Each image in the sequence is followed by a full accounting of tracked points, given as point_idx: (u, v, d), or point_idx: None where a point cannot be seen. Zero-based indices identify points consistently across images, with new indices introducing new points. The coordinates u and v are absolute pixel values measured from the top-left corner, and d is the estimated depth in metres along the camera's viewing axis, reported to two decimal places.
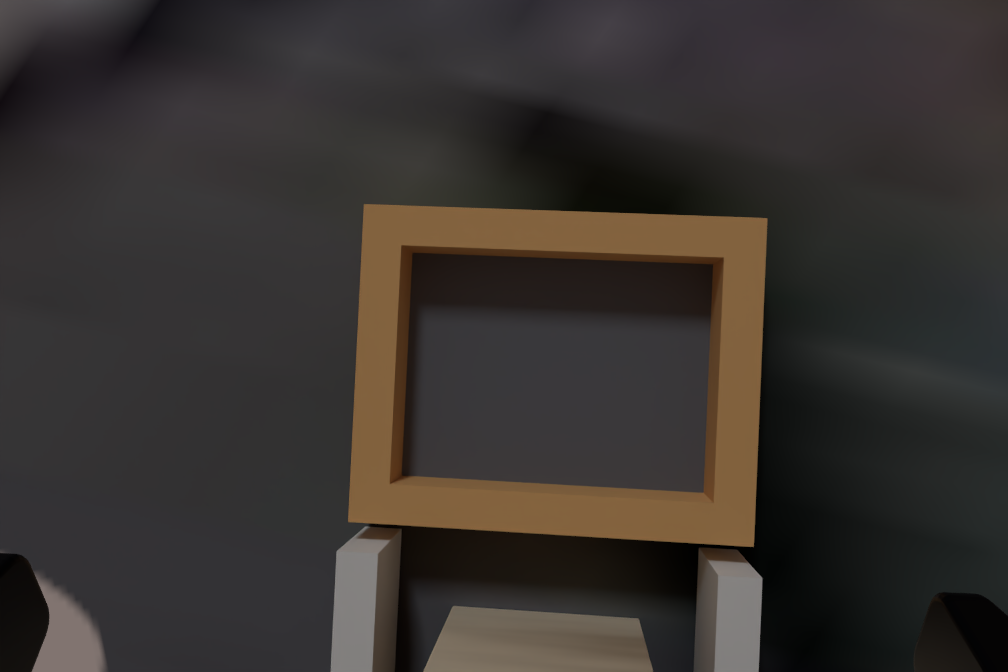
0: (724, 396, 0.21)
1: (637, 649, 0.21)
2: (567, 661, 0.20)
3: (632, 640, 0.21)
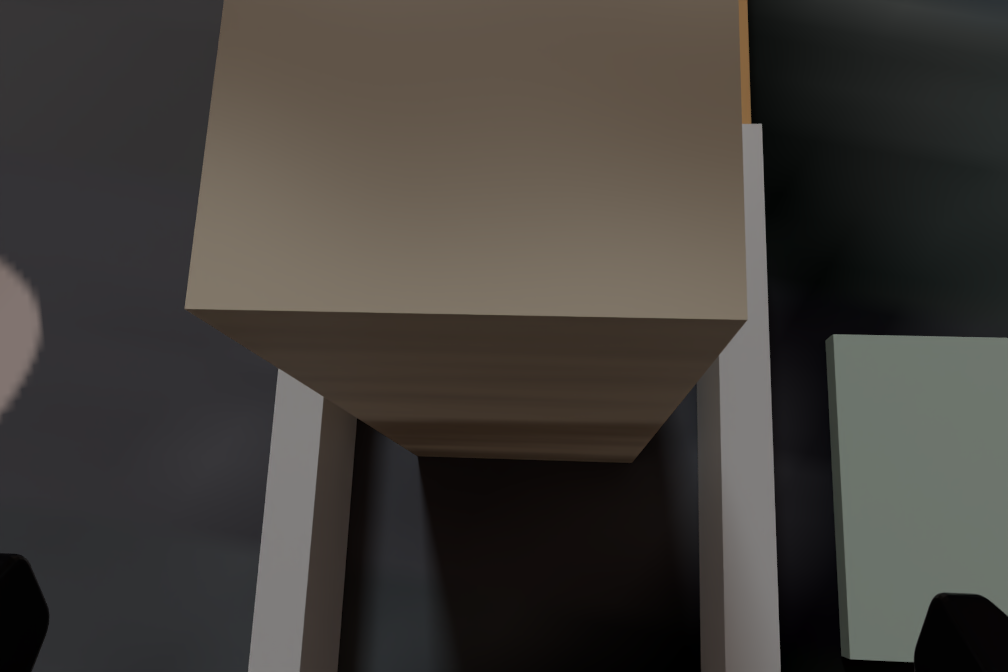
0: None
1: None
2: None
3: None
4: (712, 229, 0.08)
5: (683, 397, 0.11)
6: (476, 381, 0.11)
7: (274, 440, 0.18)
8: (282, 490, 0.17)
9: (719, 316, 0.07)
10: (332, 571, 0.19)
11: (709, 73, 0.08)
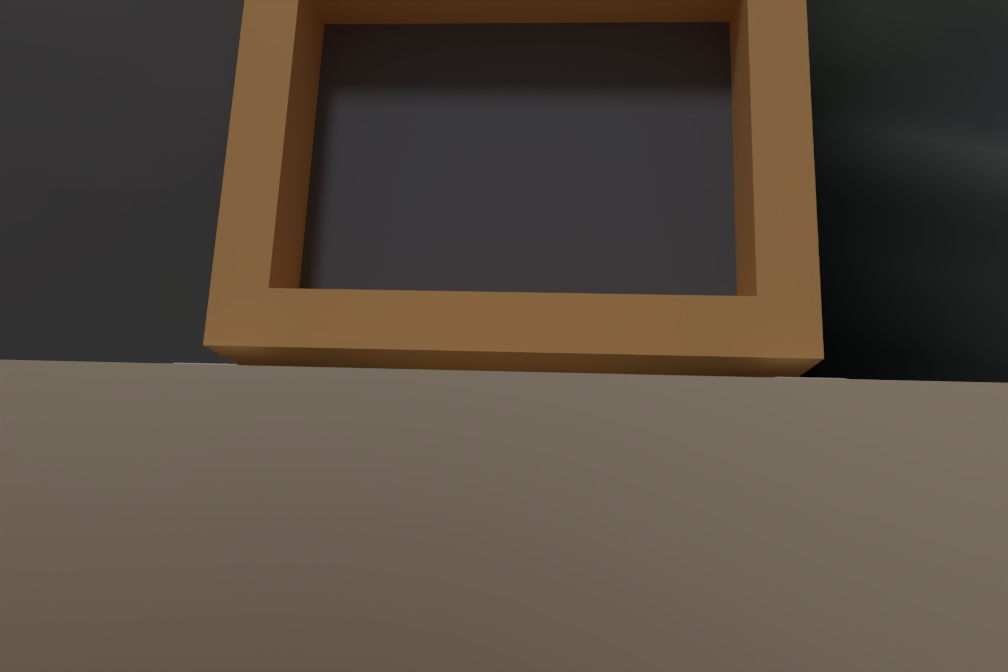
0: (761, 146, 0.15)
1: None
2: None
3: None
4: None
5: None
6: None
7: None
8: None
9: None
10: None
11: None
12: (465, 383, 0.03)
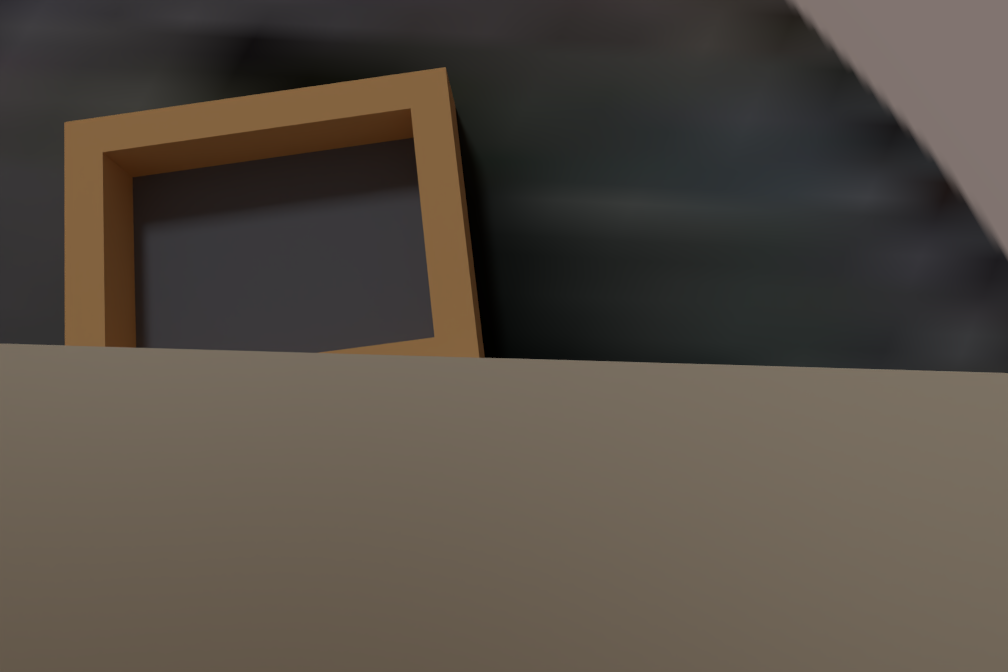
0: (430, 233, 0.21)
1: None
2: None
3: None
4: None
5: None
6: None
7: None
8: None
9: None
10: None
11: None
12: (461, 369, 0.03)
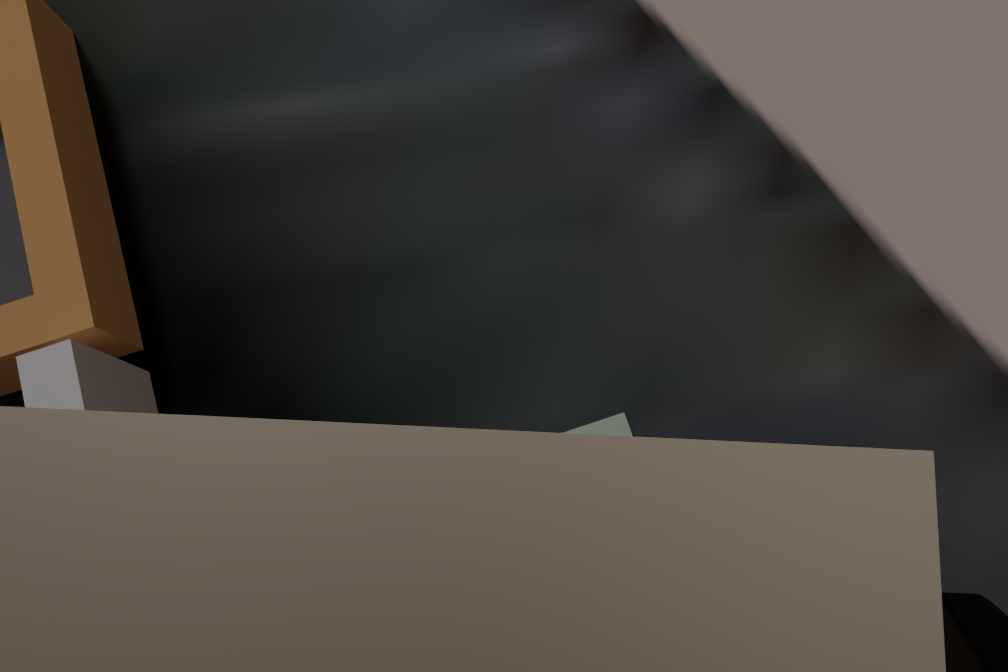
0: (18, 172, 0.17)
1: None
2: None
3: None
4: None
5: None
6: None
7: None
8: None
9: None
10: None
11: None
12: (517, 439, 0.04)
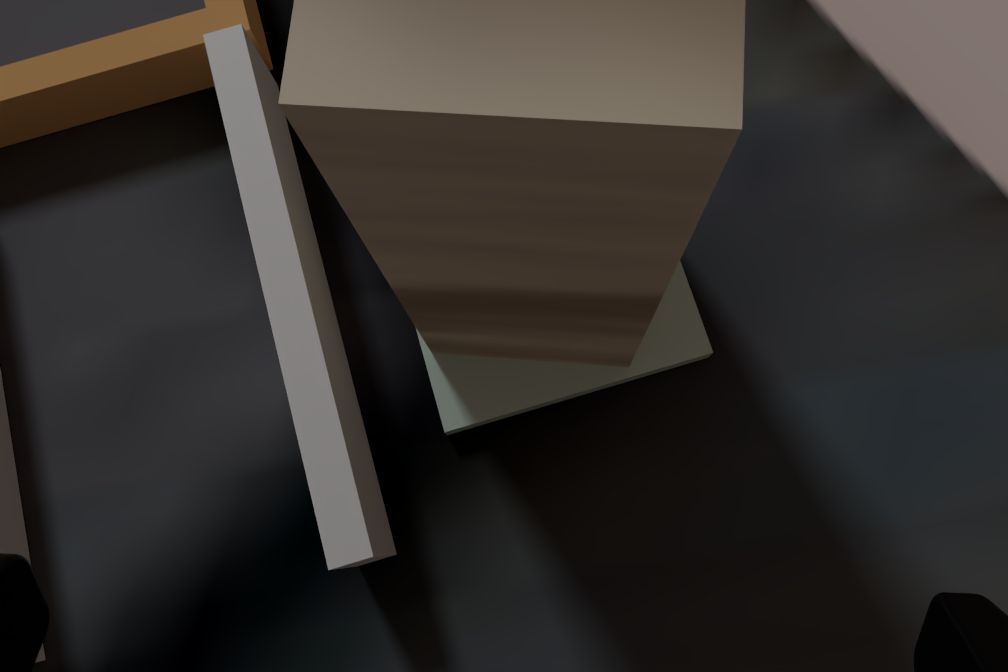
0: None
1: None
2: None
3: None
4: (717, 57, 0.09)
5: (682, 251, 0.13)
6: (505, 221, 0.12)
7: None
8: None
9: (719, 124, 0.09)
10: None
11: None
12: None
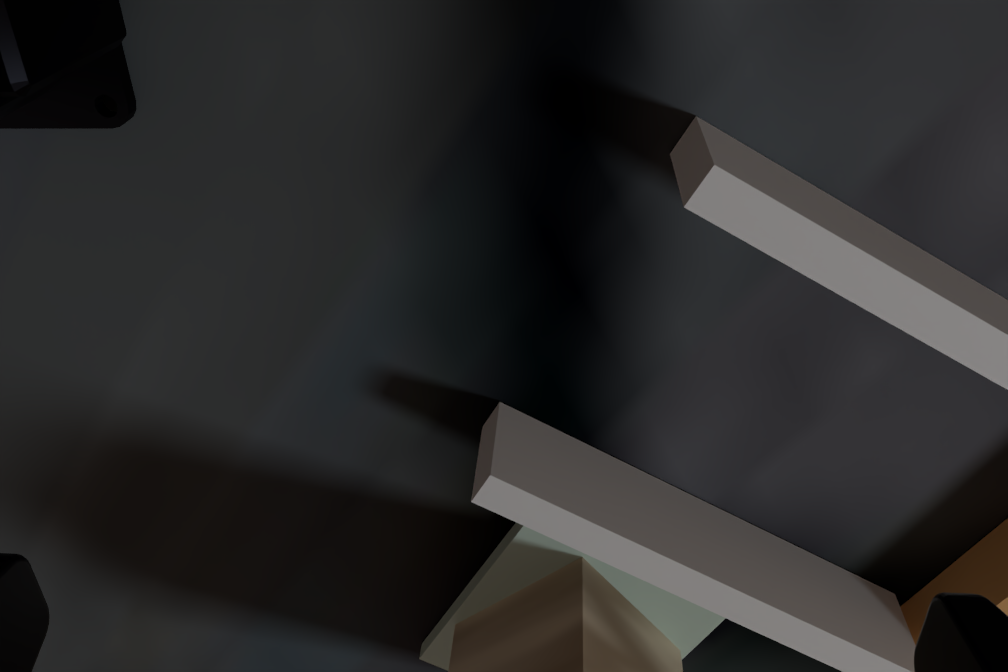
0: None
1: None
2: None
3: None
4: None
5: None
6: None
7: (973, 318, 0.18)
8: (926, 306, 0.18)
9: None
10: None
11: None
12: None
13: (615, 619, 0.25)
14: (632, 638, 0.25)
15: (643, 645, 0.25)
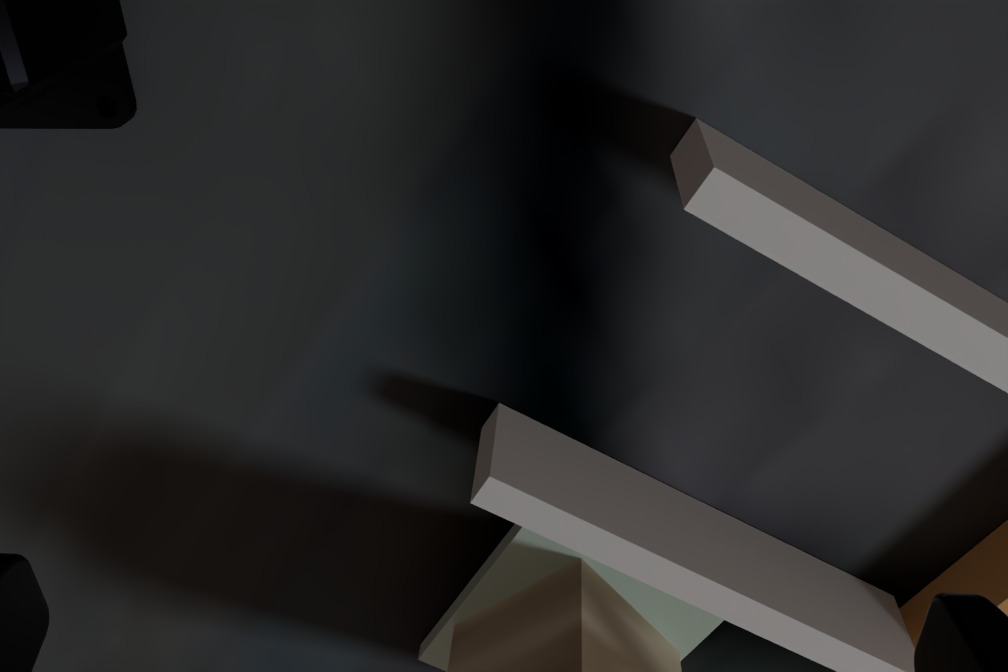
0: None
1: None
2: None
3: None
4: None
5: None
6: None
7: (972, 321, 0.18)
8: (925, 309, 0.18)
9: None
10: None
11: None
12: None
13: (614, 620, 0.25)
14: (631, 639, 0.25)
15: (642, 646, 0.25)
